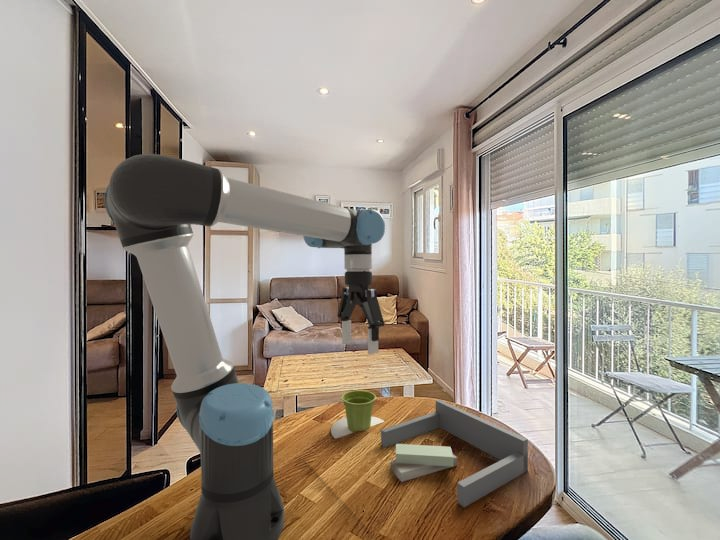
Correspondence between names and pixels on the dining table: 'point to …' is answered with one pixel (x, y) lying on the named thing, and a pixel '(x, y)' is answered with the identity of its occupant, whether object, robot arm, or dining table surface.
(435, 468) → the block
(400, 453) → the offcut top
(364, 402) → the plant pot
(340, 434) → the mat
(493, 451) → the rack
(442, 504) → the dining table surface
